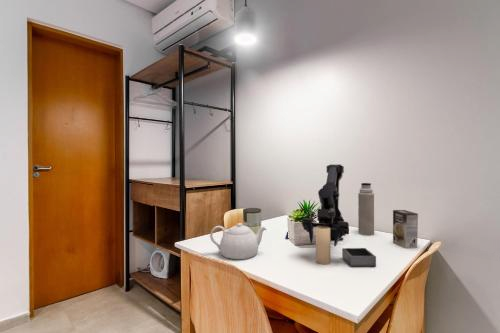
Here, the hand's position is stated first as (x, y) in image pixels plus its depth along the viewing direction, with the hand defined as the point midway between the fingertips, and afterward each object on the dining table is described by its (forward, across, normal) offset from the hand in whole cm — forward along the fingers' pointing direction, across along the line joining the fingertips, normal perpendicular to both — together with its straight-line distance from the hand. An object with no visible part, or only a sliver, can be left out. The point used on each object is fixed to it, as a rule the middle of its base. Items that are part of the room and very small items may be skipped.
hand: (322, 244), depth 106 cm
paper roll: (+4, 0, +6) cm, 8 cm away
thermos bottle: (-31, +14, +42) cm, 54 cm away
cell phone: (-17, -22, +28) cm, 39 cm away
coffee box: (-21, +32, +32) cm, 50 cm away
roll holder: (+1, +13, +10) cm, 16 cm away
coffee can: (-12, -43, +23) cm, 50 cm away
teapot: (+8, -36, +3) cm, 37 cm away
